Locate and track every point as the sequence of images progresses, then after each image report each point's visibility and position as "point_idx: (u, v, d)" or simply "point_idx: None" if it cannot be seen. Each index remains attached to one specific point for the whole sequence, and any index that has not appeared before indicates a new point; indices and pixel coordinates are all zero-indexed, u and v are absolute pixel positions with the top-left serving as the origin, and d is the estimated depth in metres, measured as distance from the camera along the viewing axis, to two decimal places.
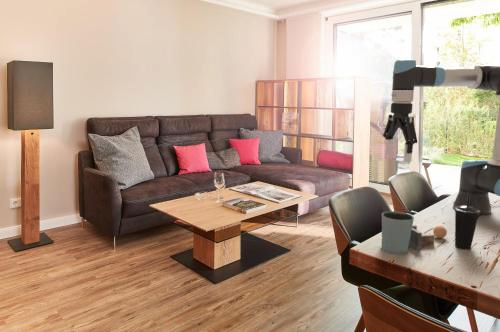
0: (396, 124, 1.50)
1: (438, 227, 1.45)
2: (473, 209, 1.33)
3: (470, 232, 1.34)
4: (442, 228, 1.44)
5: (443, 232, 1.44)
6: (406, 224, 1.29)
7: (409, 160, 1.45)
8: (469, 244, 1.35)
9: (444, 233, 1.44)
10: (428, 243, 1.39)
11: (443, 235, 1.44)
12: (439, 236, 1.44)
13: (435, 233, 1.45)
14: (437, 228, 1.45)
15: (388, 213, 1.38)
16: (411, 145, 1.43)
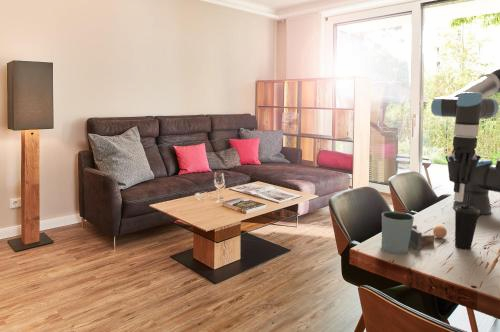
0: None
1: (438, 227, 1.45)
2: (473, 209, 1.33)
3: (470, 232, 1.34)
4: (442, 228, 1.44)
5: (443, 232, 1.44)
6: (406, 224, 1.29)
7: (457, 199, 1.44)
8: (469, 244, 1.35)
9: (444, 233, 1.44)
10: (428, 243, 1.39)
11: (443, 235, 1.44)
12: (439, 236, 1.44)
13: (435, 233, 1.45)
14: (437, 228, 1.45)
15: (388, 213, 1.38)
16: (455, 184, 1.43)
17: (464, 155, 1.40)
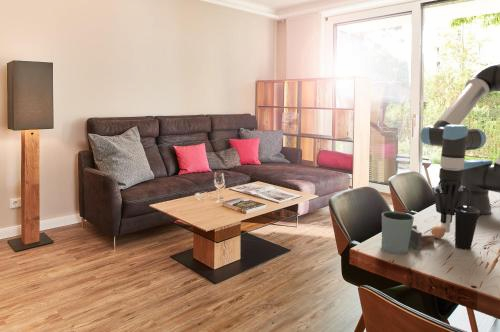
0: None
1: (435, 228, 1.45)
2: (473, 209, 1.33)
3: (470, 232, 1.34)
4: (439, 228, 1.44)
5: (440, 232, 1.43)
6: (406, 224, 1.29)
7: (444, 230, 1.45)
8: (469, 244, 1.35)
9: (442, 233, 1.43)
10: (428, 243, 1.39)
11: (441, 235, 1.44)
12: (437, 237, 1.44)
13: (433, 234, 1.45)
14: (434, 229, 1.45)
15: (388, 213, 1.38)
16: (442, 215, 1.44)
17: (450, 187, 1.41)
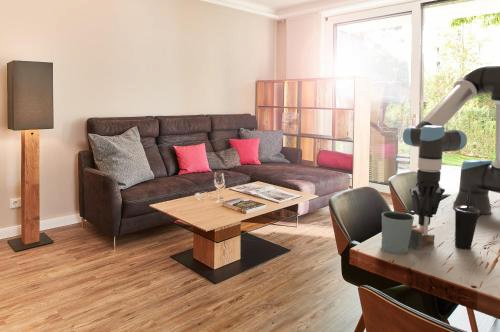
0: None
1: None
2: (473, 209, 1.33)
3: (470, 232, 1.34)
4: None
5: None
6: (406, 224, 1.29)
7: (422, 232, 1.43)
8: (469, 244, 1.35)
9: None
10: (428, 243, 1.39)
11: None
12: None
13: None
14: None
15: (388, 213, 1.38)
16: (420, 217, 1.43)
17: (427, 189, 1.39)
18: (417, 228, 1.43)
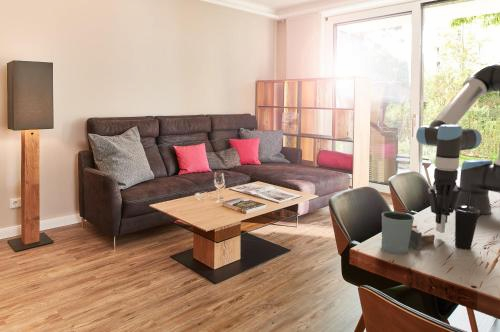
0: None
1: None
2: (473, 209, 1.33)
3: (470, 232, 1.34)
4: None
5: None
6: (406, 224, 1.29)
7: (439, 230, 1.45)
8: (469, 244, 1.35)
9: None
10: (428, 243, 1.39)
11: None
12: None
13: None
14: None
15: (388, 213, 1.38)
16: (437, 215, 1.44)
17: (445, 187, 1.40)
18: None
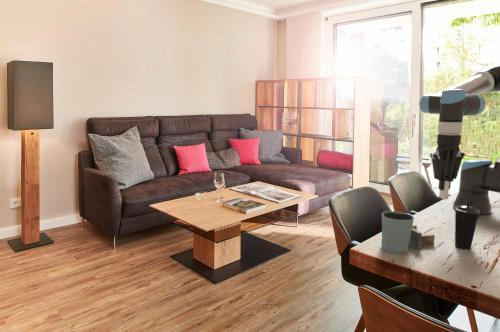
0: None
1: None
2: (473, 209, 1.33)
3: (470, 232, 1.34)
4: None
5: None
6: (406, 224, 1.29)
7: (442, 197, 1.44)
8: (469, 244, 1.35)
9: None
10: (428, 243, 1.39)
11: None
12: None
13: None
14: None
15: (388, 213, 1.38)
16: (440, 181, 1.43)
17: (448, 152, 1.39)
18: None
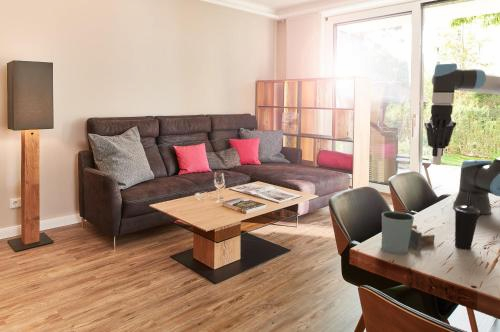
0: None
1: None
2: (473, 209, 1.33)
3: (470, 232, 1.34)
4: None
5: None
6: (406, 224, 1.29)
7: (436, 163, 1.57)
8: (469, 244, 1.35)
9: None
10: (428, 243, 1.39)
11: None
12: None
13: None
14: None
15: (388, 213, 1.38)
16: (433, 148, 1.56)
17: (441, 121, 1.53)
18: None
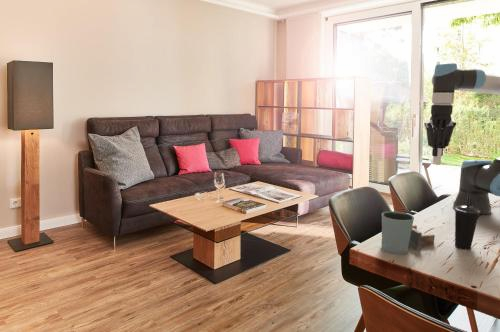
0: None
1: None
2: (473, 209, 1.33)
3: (470, 232, 1.34)
4: None
5: None
6: (406, 224, 1.29)
7: (436, 163, 1.57)
8: (469, 244, 1.35)
9: None
10: (428, 243, 1.39)
11: None
12: None
13: None
14: None
15: (388, 213, 1.38)
16: (433, 148, 1.56)
17: (441, 121, 1.53)
18: None
